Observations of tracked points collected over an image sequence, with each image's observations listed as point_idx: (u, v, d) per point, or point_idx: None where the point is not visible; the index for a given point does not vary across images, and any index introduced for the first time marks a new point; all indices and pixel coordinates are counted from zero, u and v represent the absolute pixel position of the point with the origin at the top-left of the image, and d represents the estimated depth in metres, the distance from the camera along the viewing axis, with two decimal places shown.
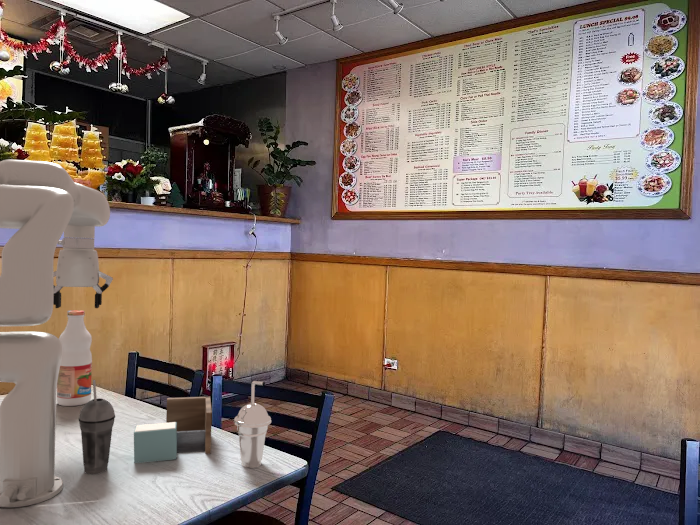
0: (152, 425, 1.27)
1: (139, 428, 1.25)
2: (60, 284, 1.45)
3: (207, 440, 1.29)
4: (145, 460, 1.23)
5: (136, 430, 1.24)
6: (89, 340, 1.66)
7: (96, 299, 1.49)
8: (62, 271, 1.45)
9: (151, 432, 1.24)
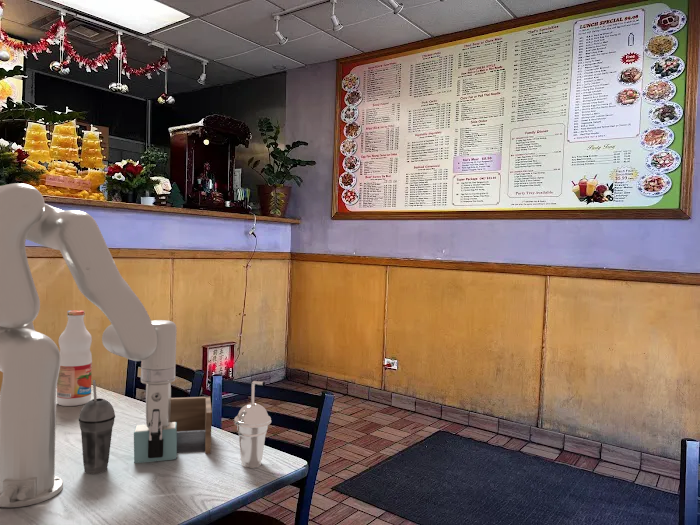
0: None
1: (139, 428, 1.25)
2: (168, 424, 1.23)
3: (207, 440, 1.29)
4: (145, 460, 1.23)
5: (136, 430, 1.24)
6: (89, 340, 1.66)
7: None
8: (169, 408, 1.24)
9: None
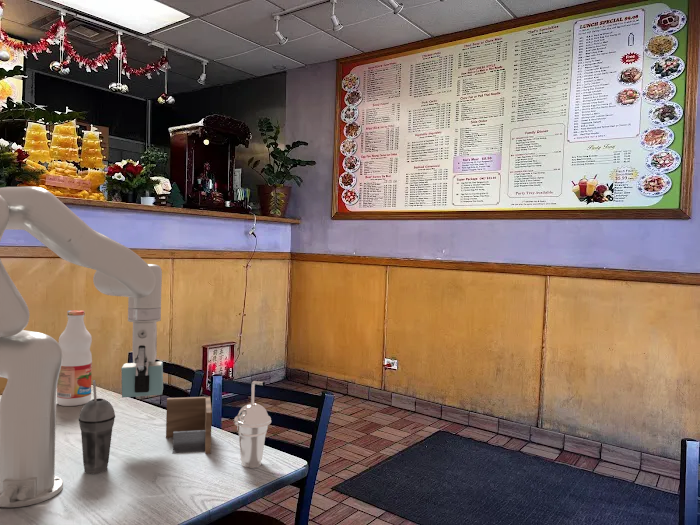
0: None
1: (127, 365, 1.32)
2: (154, 361, 1.30)
3: (207, 440, 1.29)
4: (132, 394, 1.31)
5: (124, 366, 1.31)
6: (89, 340, 1.66)
7: None
8: (154, 346, 1.31)
9: None
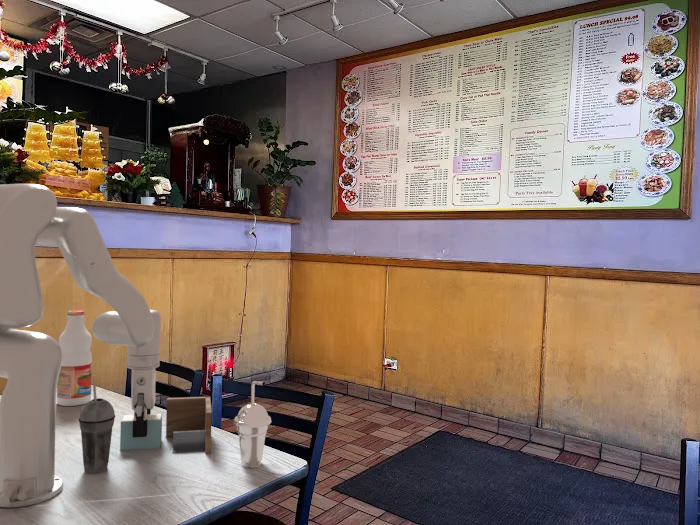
0: None
1: (126, 418, 1.32)
2: (152, 407, 1.31)
3: (207, 440, 1.29)
4: (130, 448, 1.31)
5: (123, 420, 1.31)
6: (89, 340, 1.66)
7: (150, 413, 1.39)
8: (153, 392, 1.31)
9: None
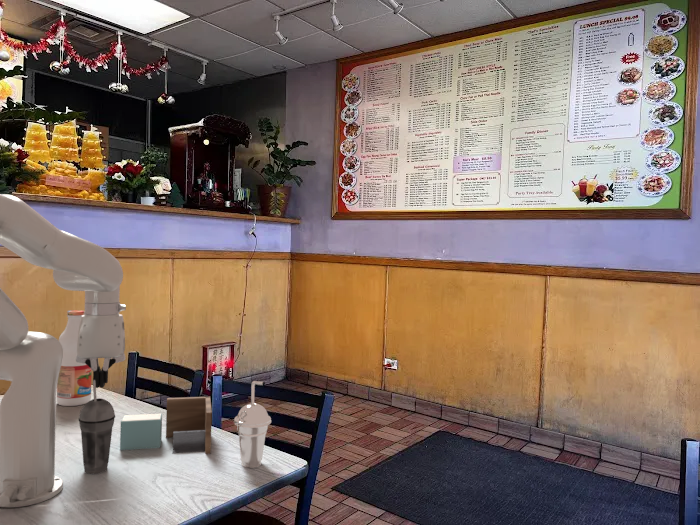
0: (138, 416, 1.34)
1: (126, 418, 1.32)
2: None
3: (207, 440, 1.29)
4: (130, 448, 1.31)
5: (123, 420, 1.31)
6: None
7: None
8: None
9: (137, 422, 1.31)
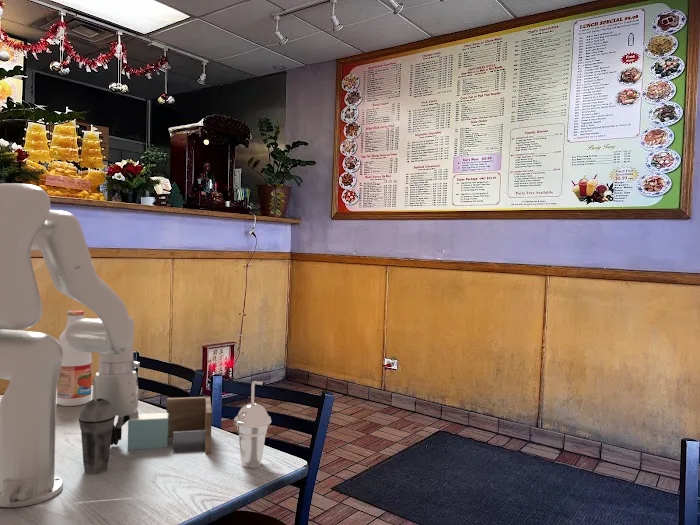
0: (146, 415, 1.35)
1: None
2: None
3: (207, 440, 1.29)
4: (138, 447, 1.31)
5: (130, 419, 1.31)
6: None
7: None
8: None
9: (144, 421, 1.31)
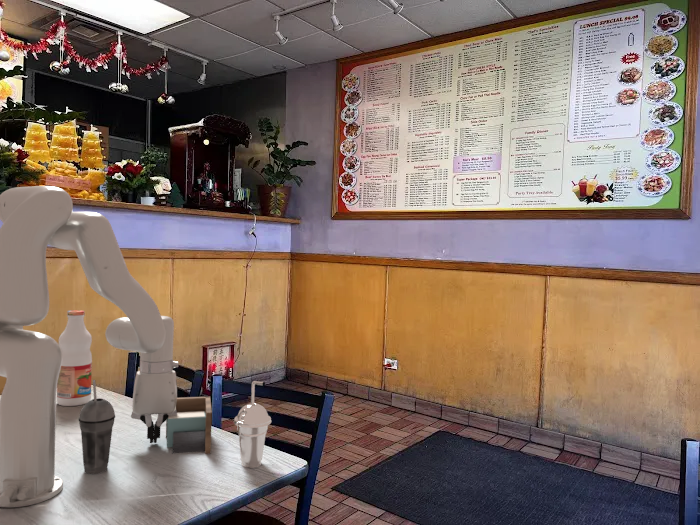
0: (183, 413, 1.37)
1: None
2: None
3: (207, 440, 1.29)
4: None
5: (169, 417, 1.34)
6: (89, 340, 1.66)
7: None
8: None
9: (183, 419, 1.34)
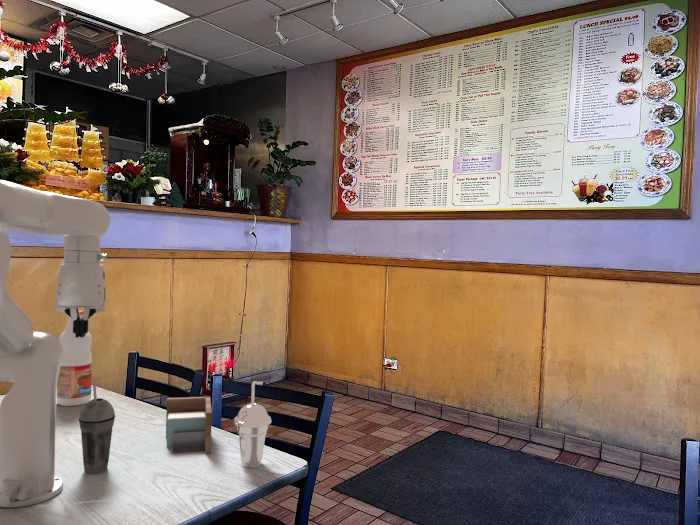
0: (183, 413, 1.37)
1: (172, 416, 1.35)
2: None
3: (207, 440, 1.29)
4: None
5: (169, 417, 1.34)
6: (89, 340, 1.66)
7: None
8: None
9: (183, 420, 1.34)
